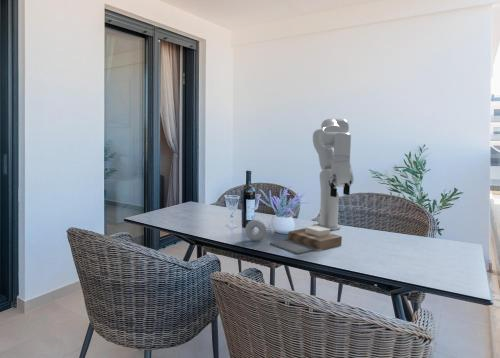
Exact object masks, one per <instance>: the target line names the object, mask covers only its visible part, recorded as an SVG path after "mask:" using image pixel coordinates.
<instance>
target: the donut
mask: <svg viewBox="0 0 500 358" xmlns="http://www.w3.org/2000/svg"><path fill="white" fill-rule="evenodd" d="M254 228H257V229H258V230H259V231H258V232H257V233H254V232H253V229H254ZM244 229H245V230H244V231H245V235H246V237H247V238H248V239H249V240H250V241H253V242H259V241H262V240H263V239H264V238H265V237H266V235H267V227H266V224H265V223H264V222H263V221H261V220H259V219H252V220H250V221H248V223H246V225H245V227H244Z"/></svg>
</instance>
